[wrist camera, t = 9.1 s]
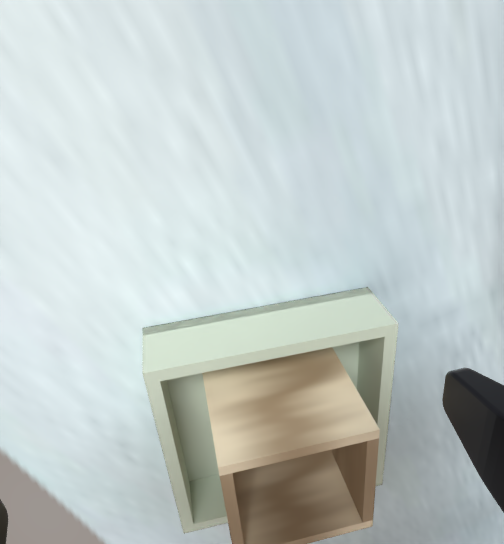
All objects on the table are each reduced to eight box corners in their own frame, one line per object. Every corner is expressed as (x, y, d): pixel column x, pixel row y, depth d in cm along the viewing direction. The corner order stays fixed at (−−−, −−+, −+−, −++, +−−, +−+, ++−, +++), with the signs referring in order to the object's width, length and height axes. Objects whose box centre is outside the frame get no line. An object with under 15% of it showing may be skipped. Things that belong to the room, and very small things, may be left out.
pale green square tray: (367, 287, 23) (398, 323, 20) (359, 439, 28) (382, 484, 26) (142, 328, 21) (142, 373, 19) (179, 481, 27) (183, 533, 24)
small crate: (327, 339, 23) (379, 429, 18) (327, 428, 26) (372, 526, 21) (200, 364, 22) (217, 467, 17) (217, 453, 26) (235, 562, 20)
